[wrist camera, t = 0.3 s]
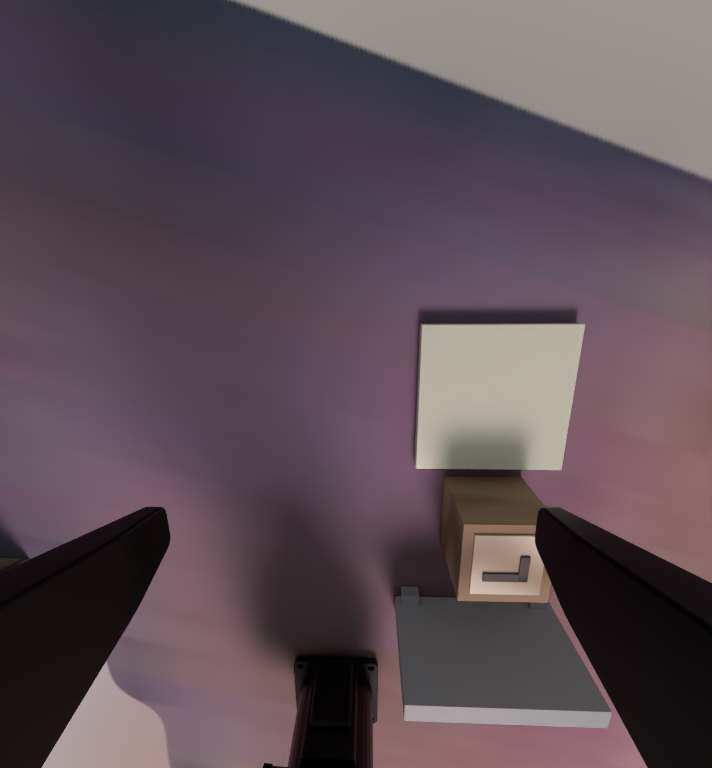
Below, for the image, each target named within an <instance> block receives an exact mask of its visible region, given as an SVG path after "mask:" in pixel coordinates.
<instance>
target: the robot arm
mask: <svg viewBox="0 0 712 768" xmlns="http://www.w3.org/2000/svg"><path fill="white" fill-rule="evenodd" d="M169 543H170V531H169V525H168V520H167V514H166V511H165V509H164V508H162V507H145V508H142V509H140V510H138V511H136V512H134V513H131V514H129V515H127V516H125V517H122V518H120V519H118V520H116V521H114V522H111V523H109V524H107V525H105V526H103V527H100V528H98V529H96V530H94V531H92V532H89V533H87V534H85V535H83V536H80V537H78V538H76V539H74V540H72V541H69V542H67V543H65V544H63V545H61V546H58V547H56V548H54V549H52V550H50V551H47V552H45V553H43V554H41V555H39V556H36V557H34V558H32V559H30V560H27V561H25V562H23V563H21V564H19V565H16V566H14V567H12V568H10V569H8V570H5V571H3V572H1V573H0V768H41V767H42V766H43V764H44V762H45V761H46V759H47V757H48V756H49V754H50V752H51V751H52V749H53V747H54V746H55V744H56V743H57V741H58V739H59V738H60V736H61V734H62V733H63V731H64V729H65V728H66V726H67V725H68V723H69V721H70V719H71V718H72V716H73V715H74V713H75V711H76V710H77V708H78V706H79V705H80V703H81V701H82V700H83V698H84V697H85V695H86V693H87V692H88V690H89V688H90V687H91V685H92V683H93V682H94V680H95V678H96V677H97V675H98V674H99V672H100V670H101V669H102V667H103V665H104V664H105V662H106V660H107V659H108V657H109V655H110V654H111V652H112V651H113V649H114V647H115V646H116V644H117V642H118V641H119V639H120V637H121V636H122V634H123V632H124V631H125V629H126V627H127V626H128V624H129V623H130V621H131V619H132V617H133V616H134V614H135V612H136V611H137V609H138V607H139V605H140V603H141V601H142V599H143V597H144V595H145V593H146V591H147V589H148V587H149V585H150V583H151V581H152V579H153V577H154V575H155V573H156V571H157V569H158V567H159V565H160V563H161V561H162V559H163V557H164V555H165V553H166V551H167V549H168V546H169ZM535 544H536V548H537V551H538V553H539V555H540V558H541V560H542V562H543V565H544V567H545V569H546V572H547V574H548V576H549V579H550V581H551V584H552V586H553V588H554V591H555V593H556V595H557V598H558V600H559V602H560V605H561V607H562V609H563V611H564V613H565V615H566V617H567V619H568V621H569V623H570V625H571V627H572V629H573V631H574V633H575V634H576V636H577V638H578V640H579V642H580V644H581V645H582V647H583V649H584V651H585V653H586V655H587V657H588V658H589V660H590V662H591V664H592V666H593V668H594V669H595V671H596V673H597V675H598V677H599V679H600V680H601V682H602V684H603V686H604V688H605V690H606V692H607V693H608V695H609V697H610V699H611V701H612V703H613V704H614V706H615V708H616V710H617V712H618V714H619V716H620V717H621V719H622V721H623V723H624V725H625V727H626V728H627V730H628V732H629V734H630V736H631V738H632V740H633V741H634V743H635V745H636V747H637V749H638V751H639V752H640V754H641V756H642V758H643V760H644V762H645V764H646V765H647V767H648V768H712V583H710V582H708V581H706V580H704V579H702V578H700V577H698V576H696V575H694V574H692V573H690V572H688V571H686V570H684V569H682V568H680V567H678V566H676V565H674V564H672V563H670V562H668V561H666V560H664V559H662V558H660V557H658V556H656V555H654V554H652V553H650V552H648V551H646V550H644V549H642V548H640V547H638V546H636V545H634V544H632V543H630V542H628V541H626V540H624V539H622V538H620V537H618V536H616V535H614V534H612V533H610V532H608V531H606V530H604V529H602V528H600V527H598V526H596V525H594V524H592V523H590V522H588V521H586V520H584V519H582V518H580V517H578V516H576V515H574V514H571V513H569V512H567V511H565V510H563V509H561V508H559V507H541V508H540V509H539V511H538V514H537V523H536V531H535ZM294 674H295V687H296V701H297V715H296V721H295V727H294V732H293V738H292V744H291V750H290V756H289V762H288V767H280V766H273V764H269V763H264V766H263V768H373V723H375V722H376V721H377V694H378V663H377V661H376V660H375V659H372V658H343V657H310V656H299V657H297V658H296V659H295V663H294Z"/></svg>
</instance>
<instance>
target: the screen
mask: <svg viewBox="0 0 712 768" xmlns="http://www.w3.org/2000/svg"><path fill="white" fill-rule="evenodd" d="M548 601H549V599H548ZM395 615H396V627H397V639H398V652H399V664H400V676H401V688H402V700H403V712H404V721H423V722H451V723H479V724H507V725H535V726H562V727H590V728H608V725H609V721H610V718H611V714H612V712H611V710H610V708H609V706H608V705H607V703H606V701H605V699H604V698H603V696H602V694H601V692H600V691H599V689H598V687H597V685H596V684H595V682H594V680H593V678H592V677H591V675H590V673H589V672H588V670H587V668H586V666H585V665H584V663H583V661H582V659H581V658H580V656H579V654H578V652H577V651H576V649H575V647H574V645H573V644H572V642H571V640H570V638H569V637H568V635H567V633H566V631H565V630H564V628H563V626H562V624H561V623H560V621H559V619H558V617H557V616H556V614H555V612H554V610H553V609H552V607H551V605H550V604H549V602H548V603H536V602H489V601H457V598H452V597H419V592H418V587H407V586H401V596H395Z"/></svg>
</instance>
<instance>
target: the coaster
mask: <svg viewBox="0 0 712 768" xmlns="http://www.w3.org/2000/svg"><path fill="white" fill-rule="evenodd" d="M584 328H585V324H581V323H420V337H419V362H418V387H417V411H416V436H415V461H414V463H415V467H416V469H506V470H561V469H562V463H563V456H564V450H565V444H566V438H567V432H568V426H569V420H570V414H571V408H572V402H573V395H574V389H575V383H576V377H577V371H578V365H579V359H580V353H581V347H582V341H583V334H584Z"/></svg>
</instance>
